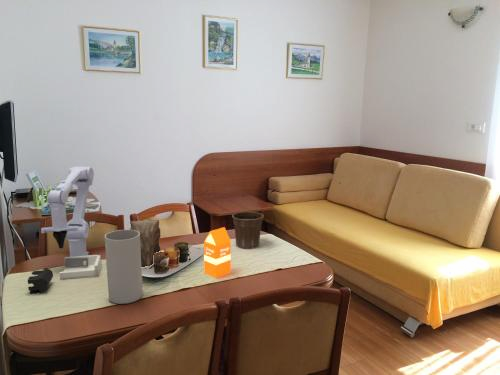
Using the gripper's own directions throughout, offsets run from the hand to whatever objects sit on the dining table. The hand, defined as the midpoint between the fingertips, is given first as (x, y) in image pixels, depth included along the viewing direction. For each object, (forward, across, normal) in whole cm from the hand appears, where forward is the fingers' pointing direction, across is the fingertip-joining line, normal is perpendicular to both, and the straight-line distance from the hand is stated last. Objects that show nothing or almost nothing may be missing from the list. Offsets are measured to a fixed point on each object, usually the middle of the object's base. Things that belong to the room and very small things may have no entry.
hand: (61, 247), depth 182 cm
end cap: (+11, -5, -18) cm, 21 cm away
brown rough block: (+10, +35, 0) cm, 37 cm away
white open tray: (+10, +8, -4) cm, 14 cm away
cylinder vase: (+11, +28, -32) cm, 44 cm away
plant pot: (+10, +87, +14) cm, 89 cm away
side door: (+9, +6, -1) cm, 11 cm away
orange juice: (+11, +66, -18) cm, 69 cm away
